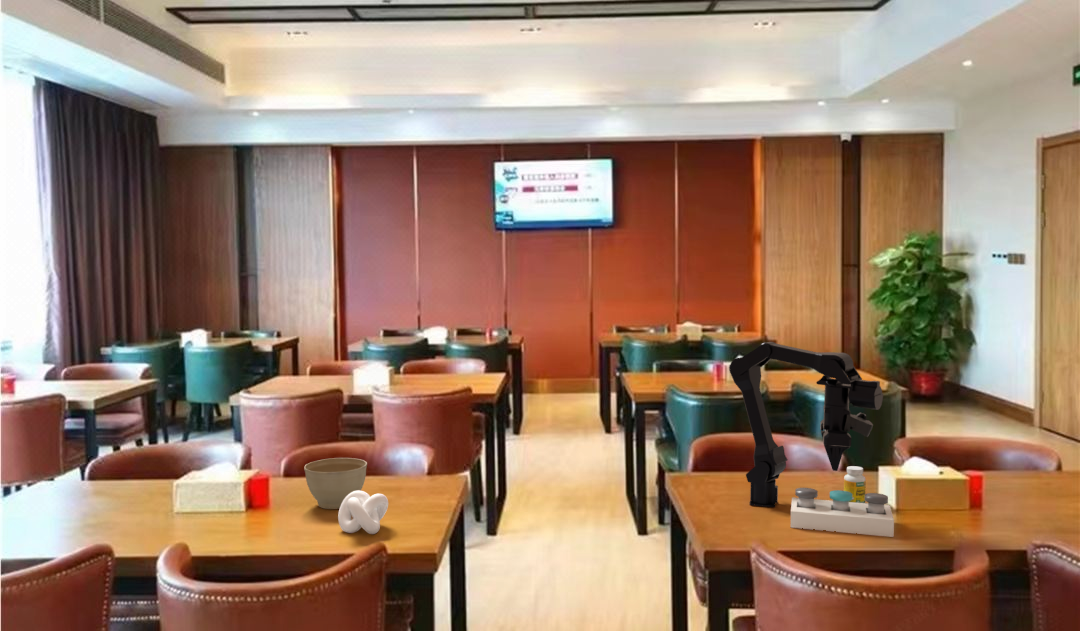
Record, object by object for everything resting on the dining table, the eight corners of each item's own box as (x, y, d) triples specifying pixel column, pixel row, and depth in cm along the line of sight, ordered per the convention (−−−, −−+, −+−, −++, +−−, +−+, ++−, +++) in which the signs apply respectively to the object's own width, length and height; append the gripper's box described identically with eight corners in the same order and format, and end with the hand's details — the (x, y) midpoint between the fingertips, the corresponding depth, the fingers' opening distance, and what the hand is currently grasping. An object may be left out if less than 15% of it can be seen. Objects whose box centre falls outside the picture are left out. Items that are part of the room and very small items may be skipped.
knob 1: (794, 511, 204) (795, 492, 204) (795, 505, 209) (795, 486, 209) (817, 513, 202) (817, 494, 202) (817, 507, 207) (817, 488, 207)
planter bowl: (379, 503, 222) (379, 463, 222) (327, 518, 211) (326, 475, 210) (345, 492, 233) (344, 454, 233) (293, 505, 222) (292, 465, 221)
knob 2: (864, 517, 199) (865, 498, 199) (863, 511, 204) (864, 492, 204) (888, 519, 197) (888, 500, 197) (886, 513, 202) (887, 494, 202)
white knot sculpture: (389, 537, 196) (389, 500, 195) (337, 541, 194) (336, 503, 193) (388, 522, 207) (387, 486, 206) (338, 526, 205) (337, 490, 204)
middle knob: (829, 514, 201) (829, 495, 201) (829, 508, 206) (829, 489, 206) (852, 516, 200) (852, 497, 199) (851, 510, 205) (851, 491, 204)
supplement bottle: (851, 499, 224) (852, 464, 223) (869, 504, 219) (870, 468, 219) (839, 502, 221) (839, 467, 220) (856, 507, 216) (857, 471, 216)
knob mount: (790, 527, 201) (790, 511, 201) (791, 512, 213) (792, 497, 212) (893, 536, 194) (893, 520, 194) (889, 521, 205) (889, 505, 205)
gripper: (875, 413, 195) (872, 478, 196) (867, 399, 213) (864, 459, 214) (825, 410, 198) (822, 474, 199) (821, 396, 216) (819, 455, 217)
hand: (833, 465), depth 207 cm, fingers open, 9 cm apart
